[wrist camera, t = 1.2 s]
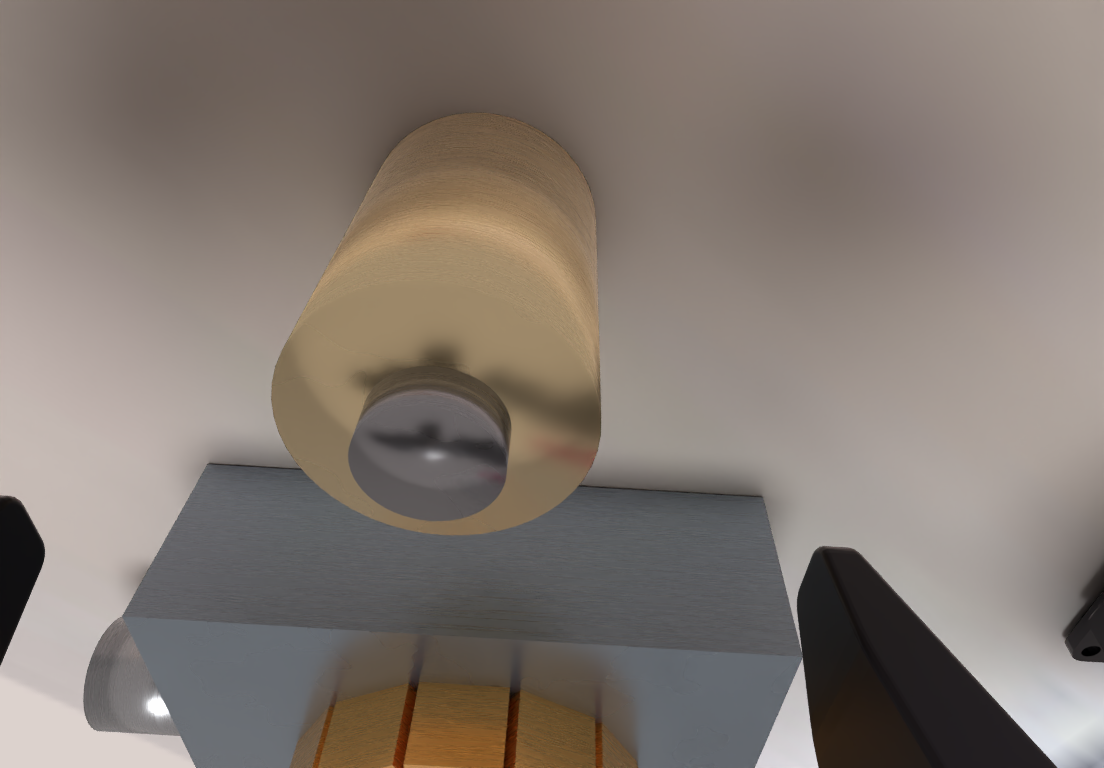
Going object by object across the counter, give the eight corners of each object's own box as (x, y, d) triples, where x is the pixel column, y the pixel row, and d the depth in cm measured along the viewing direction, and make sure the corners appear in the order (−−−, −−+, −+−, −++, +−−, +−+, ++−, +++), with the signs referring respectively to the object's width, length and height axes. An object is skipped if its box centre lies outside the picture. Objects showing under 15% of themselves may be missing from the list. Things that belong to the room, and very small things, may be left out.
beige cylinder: (605, 120, 14) (619, 333, 8) (587, 326, 16) (588, 586, 11) (360, 105, 14) (214, 309, 8) (381, 313, 16) (282, 569, 11)
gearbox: (762, 497, 19) (823, 742, 14) (688, 738, 27) (711, 956, 22) (88, 457, 19) (-85, 688, 14) (199, 709, 27) (110, 920, 22)
